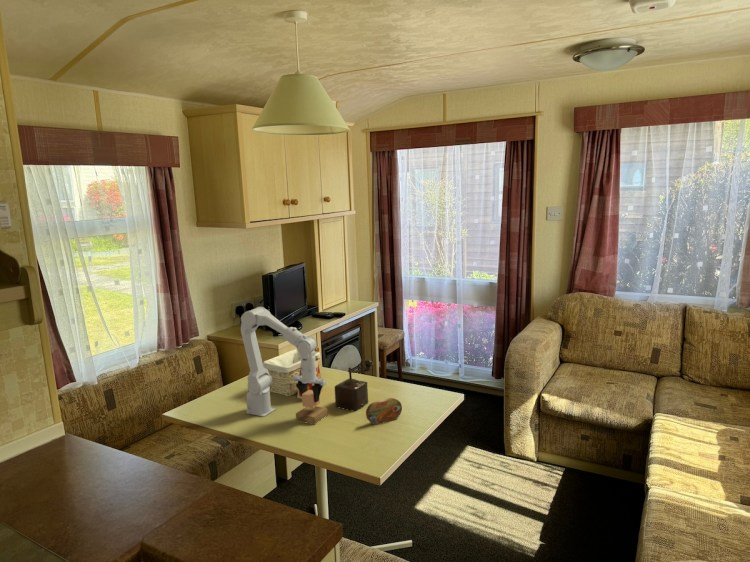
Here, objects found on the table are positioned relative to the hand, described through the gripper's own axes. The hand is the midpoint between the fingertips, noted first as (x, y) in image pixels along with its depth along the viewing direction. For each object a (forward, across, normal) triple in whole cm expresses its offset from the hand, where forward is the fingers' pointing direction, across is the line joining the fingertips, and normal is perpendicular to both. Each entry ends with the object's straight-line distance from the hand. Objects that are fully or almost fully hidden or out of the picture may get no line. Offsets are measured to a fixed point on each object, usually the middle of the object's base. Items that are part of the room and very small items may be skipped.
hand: (310, 400), depth 206 cm
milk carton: (+8, -14, +20) cm, 26 cm away
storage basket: (+8, -28, +26) cm, 39 cm away
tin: (+8, +28, +9) cm, 30 cm away
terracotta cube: (+2, 0, 0) cm, 2 cm away
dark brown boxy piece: (+8, +9, +20) cm, 23 cm away
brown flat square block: (+8, 0, 0) cm, 8 cm away
